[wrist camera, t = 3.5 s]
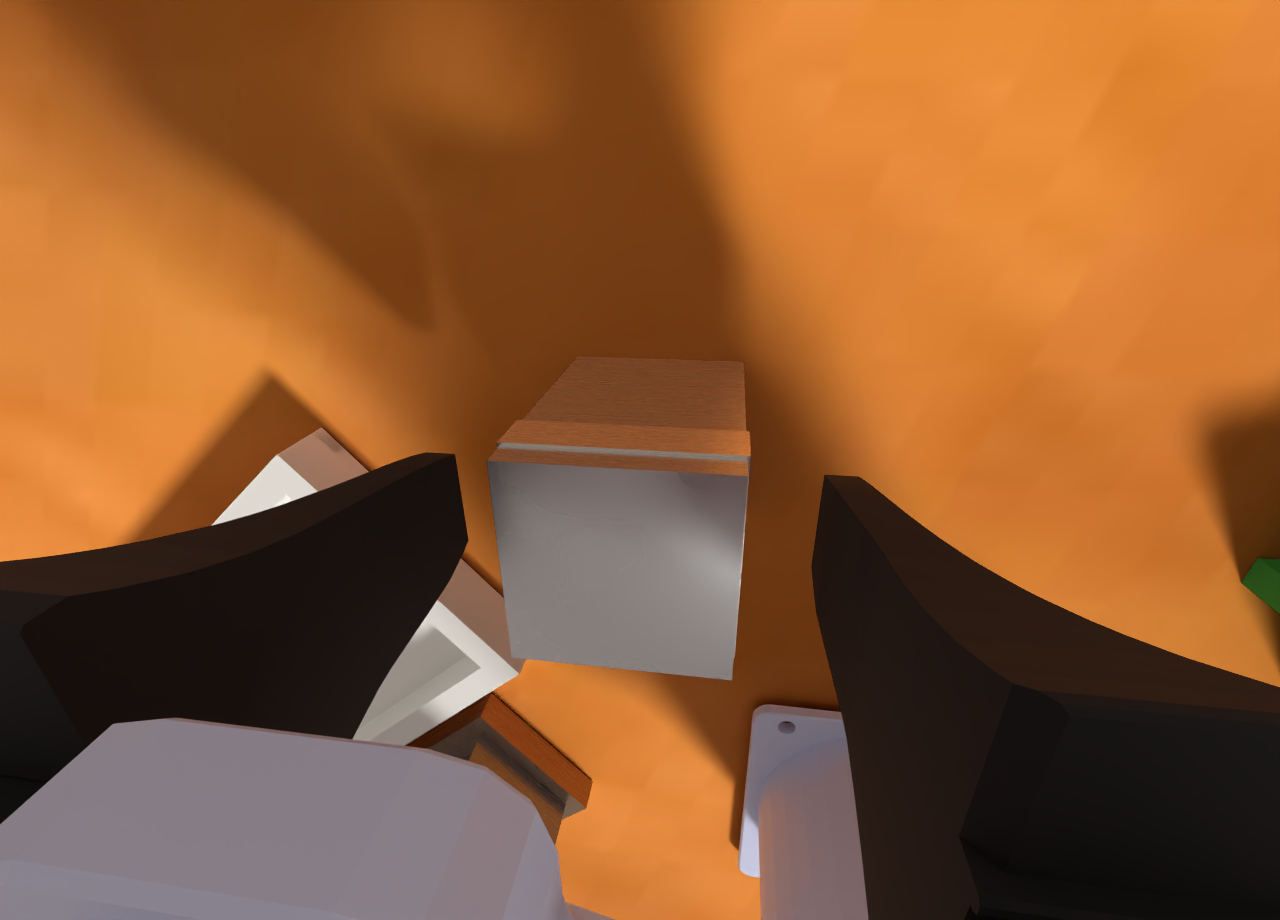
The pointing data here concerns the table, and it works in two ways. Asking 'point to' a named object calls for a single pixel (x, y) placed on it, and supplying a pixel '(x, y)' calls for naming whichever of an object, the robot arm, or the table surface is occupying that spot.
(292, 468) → the tray
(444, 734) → the mounted housing
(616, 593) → the block
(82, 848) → the robot arm
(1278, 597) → the pipe clamp
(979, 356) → the table surface
